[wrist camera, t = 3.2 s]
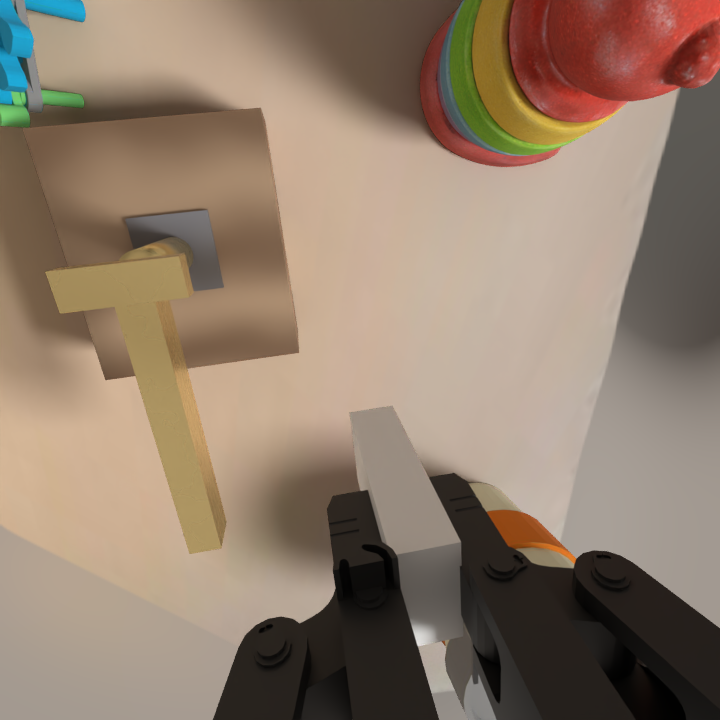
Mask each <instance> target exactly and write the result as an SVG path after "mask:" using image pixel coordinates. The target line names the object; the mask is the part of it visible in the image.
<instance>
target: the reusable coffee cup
mask: <svg viewBox="0 0 720 720" xmlns="http://www.w3.org/2000/svg"><path fill="white" fill-rule="evenodd" d="M469 485H470V487H471V488H472V490H473V491H474V493H475V494H476V497H477V498H478V499H479V501H480V502H481V504H482V507H484V509H485V510H486V512H487V513H488V515H489V517H490V518H491V520H492V521H493V523H494V524H495V526H496V528H497V529H498V531H499V532H500V534H501V536H502V537H503V539H504V540H505V542H506V543H507V545H508V546H509V547H512V548H514V549H516V550H518V551H520V552H521V553H523V554H524V555H525V556H526V557H527V558H528V559H529V560H530V561H531V563H534V564H537V565H543V566H549V567H563V568H574V564H575V561H576V558H575V557H574V556H573V555H572V554H571V553H570V552H569V551H568V550H567V549H566V548H565V547H564V546H563V545H562V544H561V543H560V542H559V541H558V540H557V539H556V538H555V537H554V536H553V535H552V534H551V533H550V532H549V531H548V530H547V529H546V528H545V527H544V526H543V525H542V524H541V523H540V522H539V521H538V520H537V519H535V518H533V517H531V516H530V515H528V514H525V513H523V512H522V511H521V510H520V509H519V508H518V507H517V506H516V505H515V504H514V503H513V502H512V501H511V500H510V499H509V498H508V497H507V496H506V495H505V494H504V493H503V492H502V491H501V490H499V489H498V488H496V487H494V486H492V485H488V484H484V483H469ZM463 632H464V636H463V637H458V638H454V639H449V640H445V641H442V642H443V644H444V645H445V646H446V656H445V663H446V671H447V673H448V676H449V678H450V680H451V682H452V685H453V687H454V689H455V691H456V693H457V696H458V698H459V700H460V703H461V705H462V707H463V709H464V712H465V714H466V716H467V718H468V720H497V719H496V717H495V714H494V712H493V709H492V707H491V704H490V702H489V699H488V697H487V694H486V692H485V689H484V687H483V684H482V682H481V679H480V677H479V674H478V684H473V679H472V671H471V638H470V635H469V633H468V630H467V628H466V626H465V623H464V621H463Z"/></svg>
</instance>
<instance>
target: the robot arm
mask: <svg viewBox="0 0 720 720" xmlns="http://www.w3.org/2000/svg"><path fill="white" fill-rule="evenodd" d="M350 421H351V429H352V437H353V446H354V454H355V462H356V470H357V478H358V483H359V487H360V491H358V492H353V493H347V494H341V495H336V496H333V497H332V499H331V502H330V504H329V506H328V508H327V513H328V521H329V529H330V536H331V545H332V553H333V561H334V566H333V574H334V580H335V587H336V589H335V592H334V595H333V597H332V599H331V600H330V602H329V604H328V605H327V606H326V607H325V608H324V609H323V610H322V611H321V612H319V613H318V614H316V615H315V616H313V617H311V618H309V619H307V620H306V621H304V622H302V623H300V624H299V623H298V622H296V621H295V620H294V619H291V618H286V617H276V618H270V619H267V620H265V621H263V622H261V623H259V624H257V625H256V626H255V627H254V628H253V629H251V630H250V631H249V632H248V633H247V634H246V635H245V637H244V639H243V641H242V642H241V644H240V646H239V648H238V651H237V654H236V656H235V659H234V662H233V665H232V667H231V670H230V673H229V676H228V679H227V682H226V684H225V687H224V690H223V693H222V696H221V698H220V702H219V704H218V707H217V710H216V713H215V716H214V718H213V720H439V718H438V714H437V711H436V708H435V704H434V701H433V697H432V694H431V690H430V687H429V684H428V680H427V677H426V673H425V670H424V666H423V663H422V660H421V656H420V653H419V649H418V646H422V645H427V644H431V643H436V642H440V641H445V640H449V639H454V638H458V637H463V636H464V632H463V621H464V623H465V626H466V628H467V630H468V633H469V635H470V638H471V671H472V679H473V684H478V674H479V677H480V679H481V682H482V684H483V687H484V689H485V692H486V694H487V697H488V699H489V702H490V704H491V707H492V709H493V712H494V714H495V717H496V719H497V720H720V628H719V627H717V626H716V625H715V624H713V623H712V622H711V621H709V620H708V619H707V618H705V617H704V616H703V615H701V614H700V613H699V612H697V611H696V610H695V609H693V608H692V607H691V606H689V605H688V604H687V603H686V602H684V601H683V600H682V599H680V598H679V597H678V596H676V595H675V594H673V593H672V592H671V591H670V590H668V589H667V588H666V587H664V586H663V585H662V584H660V583H659V582H658V581H656V580H655V579H654V578H652V577H651V576H650V575H648V574H647V573H646V572H645V571H643V570H642V569H641V568H639V567H638V566H637V565H635V564H634V563H632V562H631V561H629V560H627V559H626V558H624V557H622V556H620V555H617V554H613V553H610V552H607V551H590V552H586V553H583V554H582V555H580V556H579V557H578V558H577V559H576V561H575V564H574V568H563V567H549V566H543V565H537V564H534V563H531V561H530V560H529V559H528V558H527V557H526V556H525V555H524V554H523V553H521V552H520V551H518V550H516V549H514V548H512V547H509V546H508V545H507V543H506V542H505V540H504V539H503V537H502V536H501V534H500V532H499V531H498V529H497V528H496V526H495V524H494V523H493V521H492V520H491V518H490V517H489V515H488V513H487V512H486V510H485V509H484V507H482V504H481V502H480V501H479V499H478V498H477V497H476V494H475V493H474V491H473V490H472V488H471V487H470V485H469V483H468V482H467V481H465V480H464V479H462V478H461V477H459V476H458V475H456V474H455V473H452V474H446V475H441V476H435V477H428V475H427V473H426V471H425V469H424V467H423V465H422V463H421V461H420V459H419V457H418V456H417V454H416V452H415V450H414V448H413V446H412V444H411V442H410V440H409V438H408V436H407V434H406V432H405V430H404V428H403V426H402V424H401V422H400V420H399V418H398V416H397V414H396V412H395V410H394V408H393V406H388V407H382V408H375V409H369V410H363V411H357V412H350Z"/></svg>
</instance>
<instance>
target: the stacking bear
mask: <svg viewBox="0 0 720 720" xmlns="http://www.w3.org/2000/svg"><path fill="white" fill-rule="evenodd" d="M719 68H720V0H463V1H462V2H461V4H460V6H459V8H458V9H457V10H456V11H455V12H453V14H452V15H451V16H450V17H449V18H448V19H447V20H446V21H445V23H444V24H443V25H442V26H441V27H440V29H439V30H438V31H437V33H436V34H435V36H434V37H433V39H432V41H431V43H430V45H429V47H428V49H427V51H426V54H425V57H424V60H423V65H422V70H421V77H420V96H421V103H422V107H423V111H424V115H425V117H426V120H427V122H428V124H429V126H430V128H431V130H432V132H433V133H434V135H435V136H436V137H437V139H438V140H439V141H440V142H441V143H442V144H443V145H444V146H445V147H446V148H448V149H449V150H451V151H452V152H454V153H456V154H457V155H459V156H462V157H464V158H466V159H468V160H471V161H474V162H477V163H480V164H485V165H490V166H497V167H513V166H523V165H528V164H533V163H536V162H540V161H543V160H546V159H549V158H551V157H552V156H554V155H555V154H557V153H558V151H559V150H560V148H561V146H564V145H566V144H568V143H570V142H572V141H574V140H576V139H578V138H580V137H581V136H583V135H584V134H586V133H588V132H590V131H591V130H593V129H595V128H596V127H598V126H600V125H601V124H602V123H604V122H605V121H607V120H608V119H609V118H611V117H612V116H613V115H614V114H616V113H617V112H618V111H619V110H620V109H621V108H622V107H623V106H624V105H625V104H626V103H627V102H628V101H637V100H644V99H649V98H653V97H656V96H660V95H663V94H665V93H668V92H670V91H673V90H675V89H677V88H679V87H683V88H697V87H700V86H702V85H705V84H707V83H708V82H709V81H710V80H711V79H712V78H713V76H714V75H715V74H716V72H717V71H718V70H719Z"/></svg>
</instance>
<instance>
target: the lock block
mask: <svg viewBox="0 0 720 720" xmlns="http://www.w3.org/2000/svg"><path fill="white" fill-rule="evenodd" d="M22 129H23V132H24V135H25V138H26V141H27V144H28V147H29V150H30V154H31V157H32V160H33V163H34V166H35V169H36V172H37V175H38V178H39V181H40V184H41V187H42V190H43V193H44V196H45V199H46V202H47V205H48V208H49V211H50V214H51V217H52V220H53V223H54V226H55V229H56V232H57V235H58V238H59V241H60V244H61V247H62V250H63V253H64V256H65V259H66V262H67V265H68V266H77V265H86V264H94V263H103V262H112V261H119V259H120V258H121V257H122V256H123V255H124V254H125V253H127V252H129V251H132V250H135V249H137V248H140V247H143V246H146V245H148V244H151V243H154V242H157V241H160V240H162V239H165V238H168V237H177V238H180V239H182V240H184V241H185V242H187V243H188V244H189V246H190V247H191V249H192V251H193V263H192V265H191V267H190V268H189V273H190V278H191V282H192V286H193V290H194V293H193V294H192V295H191V296H190V297H189V298H181V299H173V300H170V304H171V308H172V312H173V315H174V319H175V323H176V327H177V331H178V335H179V339H180V343H181V347H182V350H183V354H184V358H185V362H186V366H187V368H194V367H201V366H208V365H215V364H222V363H229V362H237V361H244V360H251V359H258V358H265V357H272V356H279V355H286V354H293V353H299V344H298V329H297V323H296V316H295V310H294V304H293V297H292V291H291V284H290V278H289V271H288V265H287V258H286V252H285V246H284V239H283V233H282V226H281V220H280V213H279V207H278V201H277V194H276V188H275V181H274V175H273V168H272V162H271V155H270V149H269V143H268V136H267V130H266V123H265V120H264V117H263V114H262V111H261V108H253V109H241V110H229V111H218V112H206V113H194V114H182V115H171V116H159V117H147V118H135V119H124V120H112V121H100V122H88V123H77V124H65V125H53V126H41V127H30V128H22ZM83 313H84V316H85V319H86V322H87V325H88V329H89V332H90V335H91V338H92V341H93V344H94V347H95V350H96V353H97V356H98V359H99V362H100V365H101V368H102V371H103V374H104V377H105V380H110V379H117V378H124V377H131V376H135V373H134V369H133V366H132V363H131V359H130V356H129V353H128V349H127V346H126V343H125V340H124V336H123V333H122V330H121V326H120V323H119V320H118V317H117V313H116V310H115V307H110V308H102V309H94V310H86V311H83Z"/></svg>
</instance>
